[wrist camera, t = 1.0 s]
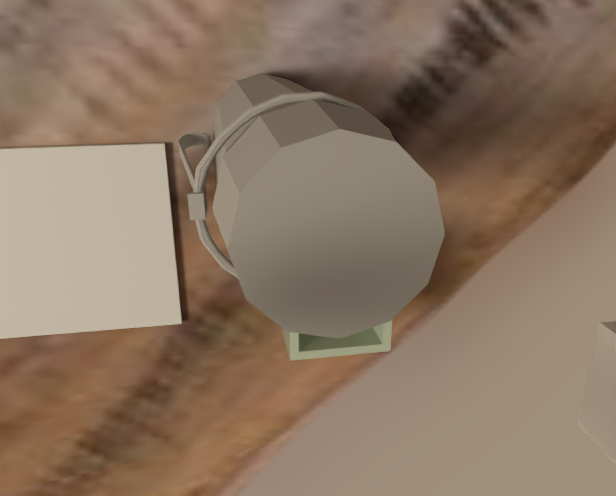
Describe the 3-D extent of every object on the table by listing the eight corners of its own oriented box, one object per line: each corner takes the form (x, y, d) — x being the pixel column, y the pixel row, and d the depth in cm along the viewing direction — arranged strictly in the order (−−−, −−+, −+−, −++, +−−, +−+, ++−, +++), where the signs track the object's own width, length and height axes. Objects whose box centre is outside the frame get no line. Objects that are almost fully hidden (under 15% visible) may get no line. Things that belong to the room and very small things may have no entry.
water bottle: (313, 65, 38) (471, 101, 15) (314, 176, 41) (450, 348, 18) (178, 69, 37) (129, 115, 14) (189, 183, 40) (163, 379, 17)
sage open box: (274, 224, 42) (288, 264, 35) (363, 219, 43) (395, 256, 36) (276, 307, 44) (289, 360, 37) (360, 300, 46) (390, 350, 38)
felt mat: (-54, 149, 36) (-57, 150, 36) (164, 142, 39) (164, 143, 38) (-10, 336, 41) (-12, 339, 41) (181, 320, 43) (181, 323, 43)
